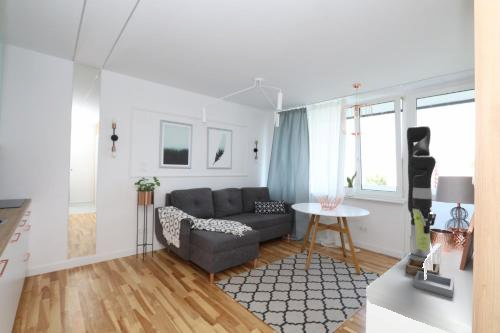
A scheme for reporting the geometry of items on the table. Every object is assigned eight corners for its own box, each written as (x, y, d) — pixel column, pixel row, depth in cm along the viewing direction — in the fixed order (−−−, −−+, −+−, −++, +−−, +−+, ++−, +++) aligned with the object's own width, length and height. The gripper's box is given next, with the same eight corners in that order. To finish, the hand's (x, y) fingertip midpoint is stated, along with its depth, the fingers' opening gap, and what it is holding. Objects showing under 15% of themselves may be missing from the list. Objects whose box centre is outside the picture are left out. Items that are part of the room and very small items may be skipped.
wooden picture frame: (405, 273, 114) (405, 265, 114) (409, 265, 123) (409, 258, 123) (437, 281, 106) (437, 272, 106) (439, 272, 115) (439, 264, 115)
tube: (423, 251, 112) (422, 210, 112) (413, 248, 117) (412, 208, 117) (431, 250, 113) (431, 209, 113) (421, 246, 118) (421, 207, 118)
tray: (413, 287, 101) (413, 280, 101) (418, 277, 110) (417, 270, 110) (452, 298, 93) (452, 290, 93) (453, 286, 102) (453, 279, 102)
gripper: (442, 199, 108) (442, 236, 108) (418, 195, 122) (418, 228, 122) (426, 199, 108) (426, 236, 108) (404, 195, 122) (404, 228, 122)
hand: (422, 231), depth 115 cm, fingers closed on tube, 4 cm apart
